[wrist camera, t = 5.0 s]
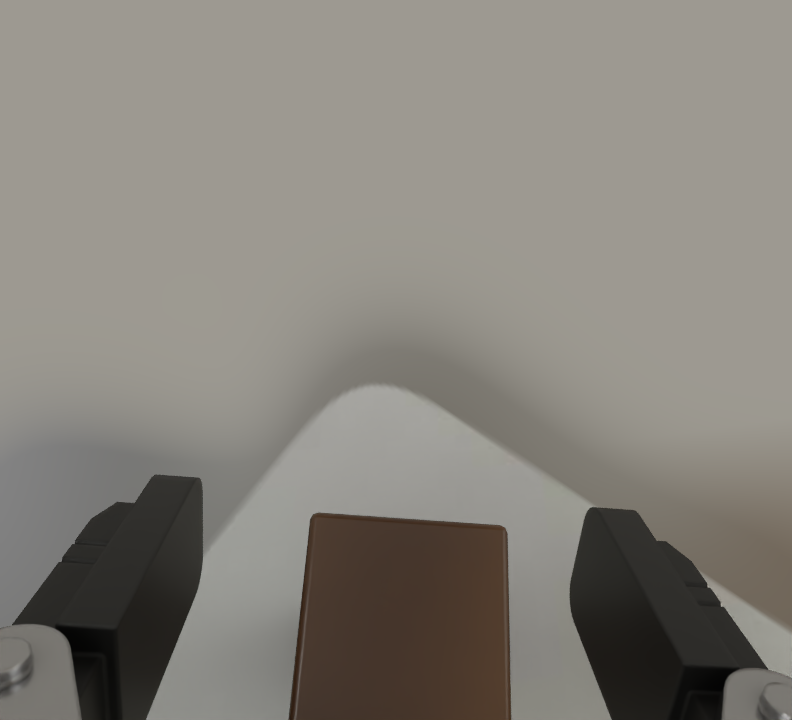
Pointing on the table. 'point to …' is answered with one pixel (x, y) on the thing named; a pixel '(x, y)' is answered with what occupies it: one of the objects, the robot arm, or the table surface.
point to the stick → (403, 621)
